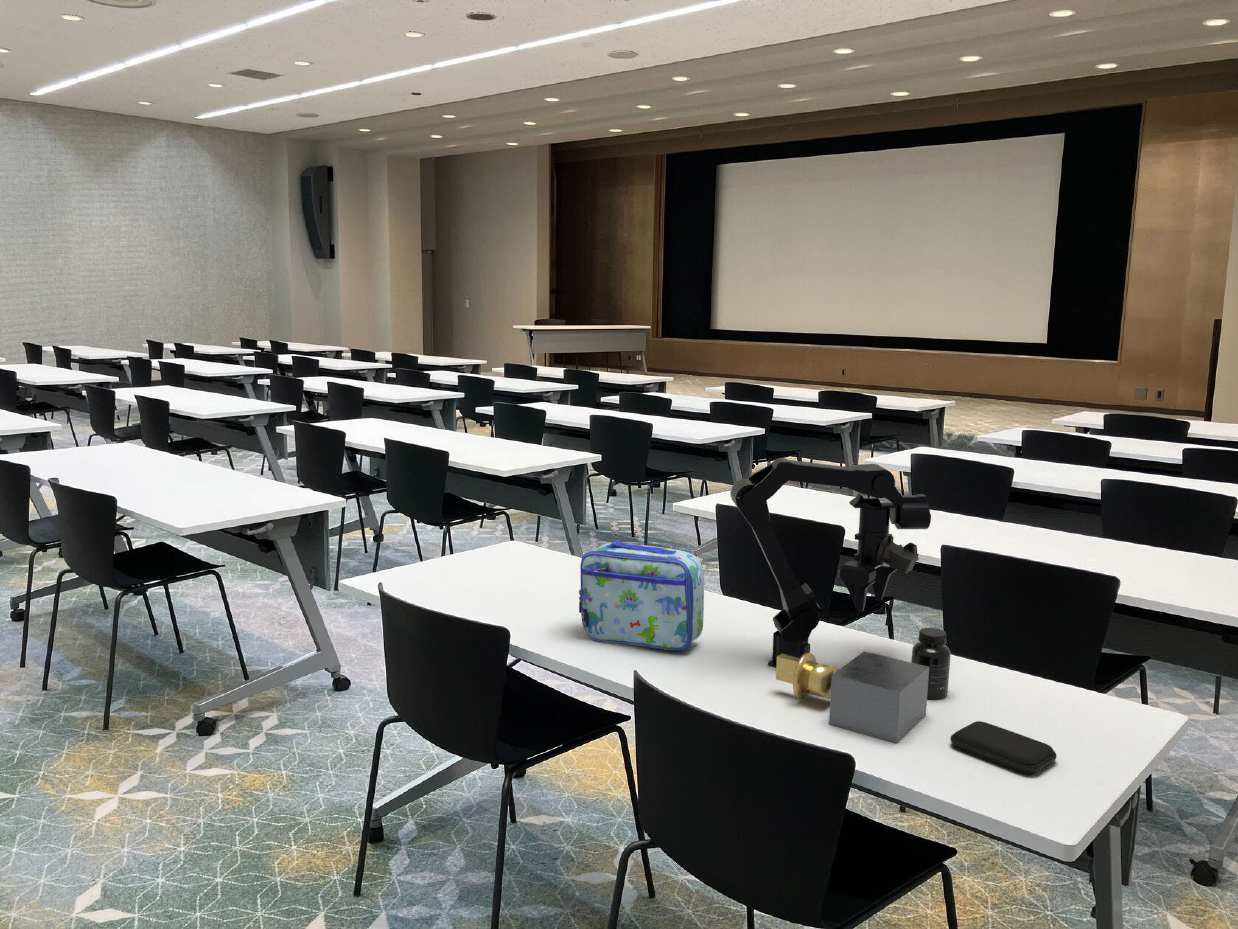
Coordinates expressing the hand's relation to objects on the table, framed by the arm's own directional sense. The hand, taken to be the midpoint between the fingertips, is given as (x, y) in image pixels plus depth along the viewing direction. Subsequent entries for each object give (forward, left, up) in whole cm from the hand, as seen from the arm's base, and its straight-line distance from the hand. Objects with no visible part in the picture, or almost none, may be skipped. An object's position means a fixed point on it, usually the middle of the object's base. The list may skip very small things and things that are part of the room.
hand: (869, 605), depth 195 cm
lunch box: (-43, -18, -12) cm, 48 cm away
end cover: (-2, -24, -12) cm, 27 cm away
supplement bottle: (+15, -7, -12) cm, 20 cm away
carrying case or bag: (+33, -23, -13) cm, 42 cm away
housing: (+12, -24, -12) cm, 29 cm away
